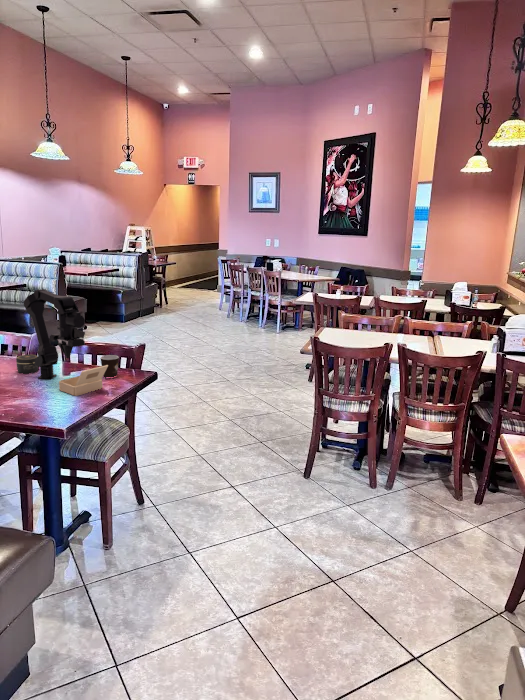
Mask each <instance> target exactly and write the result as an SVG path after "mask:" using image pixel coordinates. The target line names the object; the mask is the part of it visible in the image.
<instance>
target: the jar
mask: <svg viewBox="0 0 525 700" xmlns="http://www.w3.org/2000/svg"><path fill="white" fill-rule="evenodd" d="M37 357H38V355H36V354H22V355H19V356H17V357H16V359H15V363H16V370H17V373H19V374H20V373H23V374H22V375H30V374H29V373H32V374H36V373H37V372H38V371H39V368H40V367H38V366H36V365H35V360H36V359H37ZM35 372H36V373H35Z"/></svg>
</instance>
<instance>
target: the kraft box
mask: <svg viewBox="0 0 525 700" xmlns="http://www.w3.org/2000/svg"><path fill="white" fill-rule="evenodd" d="M79 376H80V375H78V376H74V377H70V378H65V379H62V380H61V379H60V380H59V382H58V385H59V389H58V390H59V391H61V392H63V393H66V394H69V395H72V396H73V397H74V396H75V397H77V396H81V395H84V394H89V393H91V391H92V392H95V390H96V391H99V390H102V389H101V388H103V387H104V386H103V378H102V379H100V380H96V381H93V382H89V383H85V384H81V385H78V386H76V383H77V381H78V379H79ZM98 389H99V390H98ZM88 392H89V393H88Z"/></svg>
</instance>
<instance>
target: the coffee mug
mask: <svg viewBox="0 0 525 700" xmlns="http://www.w3.org/2000/svg"><path fill="white" fill-rule="evenodd" d="M119 360H120V356H118V355H113V354H108V355H107V354H106V355H102V356H100V363H101V366H105V365H108V367H107V369H106V371H105V373H104V375H103V376H104V377H114V376H116V375H117V376H118V372H119V371H118V369H119ZM104 377H103V378H104Z"/></svg>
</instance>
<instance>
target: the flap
mask: <svg viewBox="0 0 525 700" xmlns="http://www.w3.org/2000/svg"><path fill="white" fill-rule="evenodd" d="M107 367H108V365H105V366H102V365H101V366H96V367H94V368H89V369H86V370H81V372H80V375H78V376H79V379H78V381H77V383H76V386H78V385H81V384H85V383H89V382H93V381H96V380H100V379H102V380H103V378H104V377H103V375H104V373H105V371H106V369H107Z"/></svg>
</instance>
